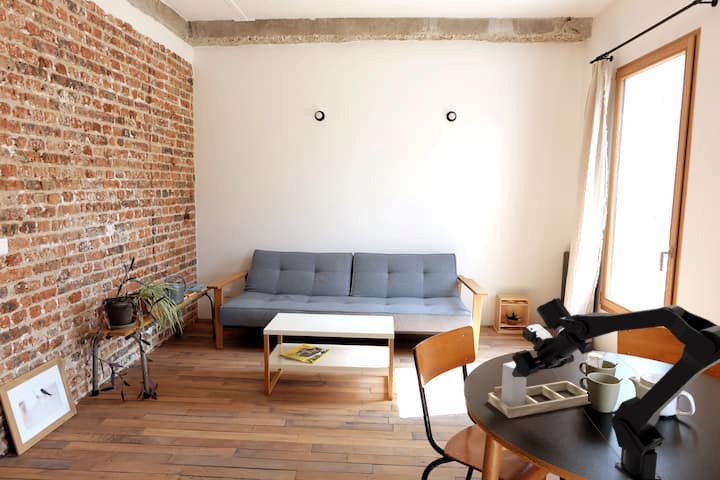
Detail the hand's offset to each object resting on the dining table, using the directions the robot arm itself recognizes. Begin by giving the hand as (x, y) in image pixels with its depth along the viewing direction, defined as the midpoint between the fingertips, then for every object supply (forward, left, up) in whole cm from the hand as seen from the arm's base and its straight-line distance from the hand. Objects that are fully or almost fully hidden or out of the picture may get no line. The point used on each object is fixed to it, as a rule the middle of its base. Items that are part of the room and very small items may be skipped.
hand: (524, 372), depth 124 cm
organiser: (+5, -8, -12) cm, 15 cm away
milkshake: (+16, -34, -12) cm, 39 cm away
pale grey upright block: (+3, +1, -11) cm, 12 cm away
